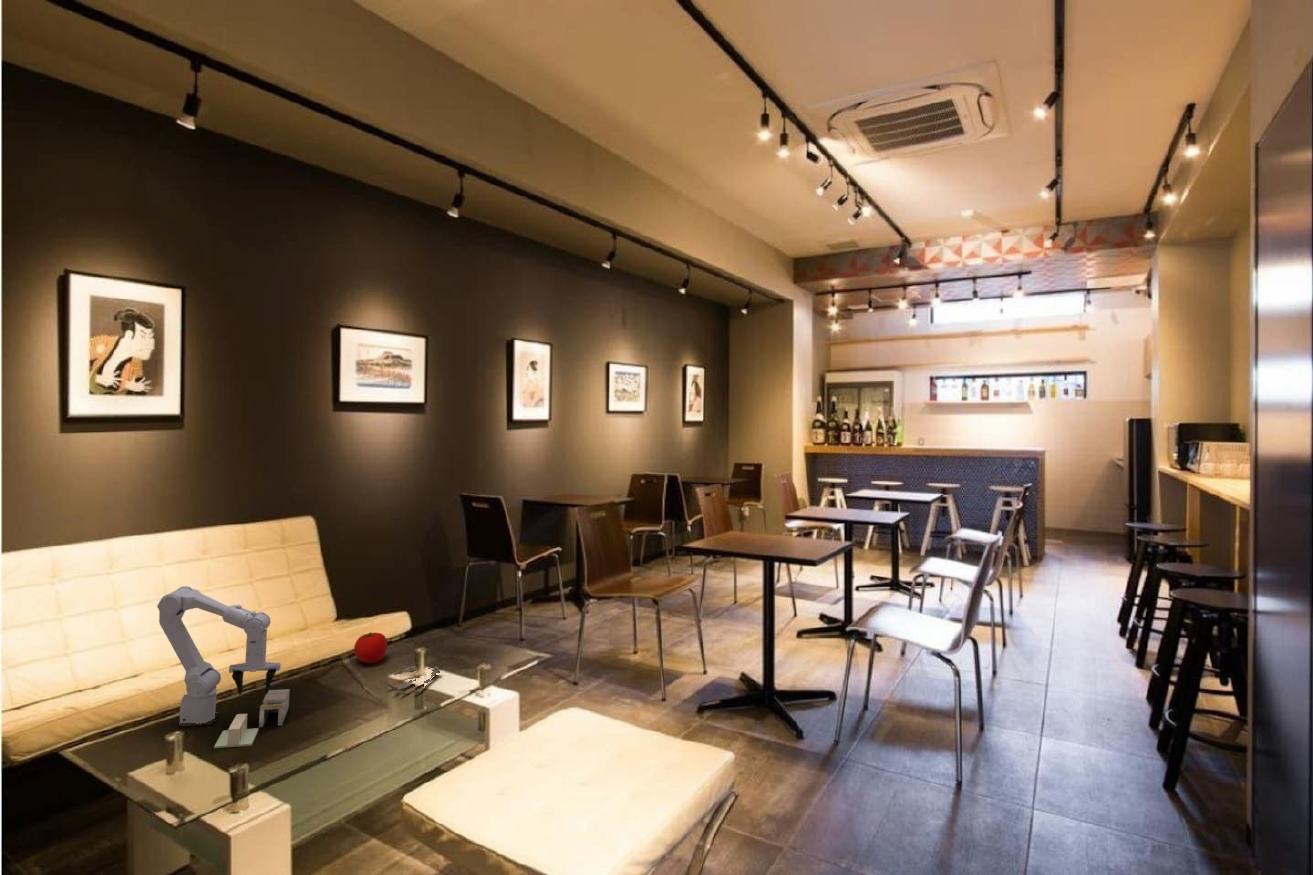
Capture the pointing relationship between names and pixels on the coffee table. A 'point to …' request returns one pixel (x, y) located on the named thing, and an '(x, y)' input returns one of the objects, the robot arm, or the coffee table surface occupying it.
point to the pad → (245, 741)
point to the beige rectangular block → (237, 729)
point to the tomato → (370, 647)
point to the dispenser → (274, 705)
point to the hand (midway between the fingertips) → (253, 692)
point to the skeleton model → (410, 669)
